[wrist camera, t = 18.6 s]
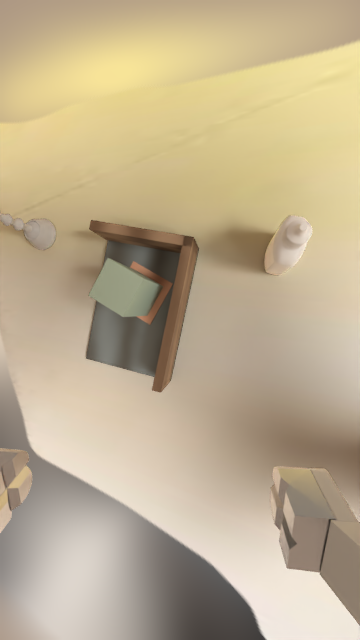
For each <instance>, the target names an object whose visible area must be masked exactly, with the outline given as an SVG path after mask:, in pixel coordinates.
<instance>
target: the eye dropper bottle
mask: <svg viewBox="0 0 360 640" xmlns="http://www.w3.org/2000/svg"><path fill="white" fill-rule="evenodd" d="M311 235H312V227H311V225H310V224H309V223H308V222H307V220H306V218H304V217H301V216H295V215H290V216H288V217H286V218H285V220H284V221H283V222H282V224H281V225H280V227H279V228H278V230H277V231H276V233H275V234H274V236H273V238H272V239H271V241H270V243H269V245H268V247H267V250H266V253H265V260H264V264H265V271H266V272H267V273H269V274H273V275H281V274H283V273H284V272H286V271H287V270H289V269H290V268H292V267H293V266H294V265H295V264H296V263H297V262H298V261H299V259H300V258H301V256H302V255H303V253H304V251H305V248H306V246H307V242H308V240H309V239H310V238H311Z"/></svg>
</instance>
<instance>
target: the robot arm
mask: <svg viewBox="0 0 360 640" xmlns="http://www.w3.org/2000/svg"><path fill="white" fill-rule="evenodd" d="M28 461H29V456H28V452H26V451H23V450H13V449H3V448H0V533H1V532H2V530H3V529H4V527H5V526H6V525H7V523H8V522H9V520H10V519H11V514H12V510H13V509H14V508H16V507H18V506H19V505H20V504H22V502H23V501H24V499H25V498H26V496H27V495H28V492H29V490H30V487H31V485H32V472H31V470H30V469H29V468H28V467H27V466H26V464H27V463H28ZM272 477H273V480H274V485H273V486H272V487H271V492H270V503H271V511H272V516H273V520H274V524H275V525H276V526H277V527H278V529H279V530H280V538H279V542H280V546H281V549H282V553H283V556H284V560H285V563H286V567H287V568H289V569H297V570H305V571H313V572H320V575H321V576H322V578H323V579H324V580H325V582H326V583H327V584H328V585H329V587H330V588H331V589H332V591H333V592H334V593H335V594H336V596H337V597H338V598H339V600H340V601H341V602H342V603H343V605H344V606H345V607H346V609H347V610H348V611H349V612H350V614H351V615H352V616H353V617H354V619H355V620H356V621H357V623H358V624H359V625H360V522H358V521H357V519H356V517H355V516H354V514H353V512H352V511H351V509H350V507H349V506H348V504H347V502H346V501H345V499H344V497H343V495H342V494H341V492H340V490H339V489H338V487H337V485H336V484H335V482H334V480H333V479H332V477H331V475H330V474H329V472H328V471H327V470H326V469H323V468H301V467H282V466H274V468H273V474H272Z"/></svg>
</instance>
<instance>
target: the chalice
mask: <svg viewBox="0 0 360 640" xmlns="http://www.w3.org/2000/svg"><path fill="white" fill-rule="evenodd" d="M0 221H2V222H3V224H4V225H6V226H9V225H13V227H14V229H15V230H18V231H19V230H21V229H22V230H24V235H25V237H26V239H27V240H28V241H29V242H30V243H31V244H32V245H33V246H34V247H35V248H36V249H39V250H45V249H47V248H49V247H50V246H52V244H53V243H54V241H55V238H56V230H55V227H54V225H53V224H52V222H50V221H49V220H47V219H32V220H30V221H28V222H27V223H26V224H24V223H23V221H22V220H21V219H20V218H17V219H13V218H12V217H11V215H9V214H0Z"/></svg>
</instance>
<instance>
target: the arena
mask: <svg viewBox="0 0 360 640" xmlns="http://www.w3.org/2000/svg"><path fill="white" fill-rule="evenodd" d="M89 229H90V230H91V231H93V232H95V233H97V234H98V235H100V236H102V237H103V238H105V239H107V240H108V244H107V249H106V254H105V260H104V264H105V262H106V260H107V258H109V259H112V260H114V261H116V262H118V263H121V264H123V265H125V266H127V267H130V268H132V269H134V270H136V271H138V272H140V273H141V274H143V275H145V276H147V277H148V278H150V279H152V280H153V281H155V282H157V283H159V284H160V285H162V286H163V288H162V290H161V292H160V294H159V295H158V297H157V299H156V301H155V303H154V304H153V306H152V308H151V310H150V312H149V314H148V315H147V316H133V317H122V316H121V315H119V314H117V313H116V312H114V311H112V310H111V309H109V308H108V307H106V306H104V305H103V304H101V303H100V302H98V301H97V303H96V308H95V313H94V319H93V324H92V329H91V335H90V340H89V345H88V351H87V356H86V359H90V360H94V361H98V362H101V363H105V364H109V365H112V366H116V367H120V368H123V369H127V370H131V371H135V372H138V373H142V374H146V375H149V376H153V377H155V378H154V383H153V388H152V390H153V391H157V392H162V391H163V389H164V388H165V387H166V386H167V384H168V383H169V382H170V381H171V378H172V373H173V368H174V364H175V359H176V354H177V349H178V345H179V340H180V335H181V331H182V326H183V321H184V317H185V312H186V307H187V303H188V298H189V293H190V289H191V284H192V279H193V274H194V270H195V265H196V260H197V256H198V251H199V248H198V246H197V244H196V241H195V239H194V237H190V236H184V235H178V234H171V233H165V232H159V231H153V230H147V229H141V228H135V227H129V226H123V225H117V224H111V223H105V222H99V221H93V220H91V223H90V228H89ZM103 266H104V265H103Z"/></svg>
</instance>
